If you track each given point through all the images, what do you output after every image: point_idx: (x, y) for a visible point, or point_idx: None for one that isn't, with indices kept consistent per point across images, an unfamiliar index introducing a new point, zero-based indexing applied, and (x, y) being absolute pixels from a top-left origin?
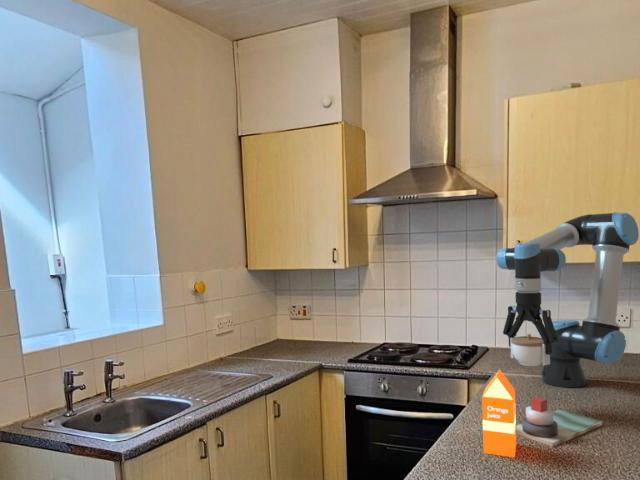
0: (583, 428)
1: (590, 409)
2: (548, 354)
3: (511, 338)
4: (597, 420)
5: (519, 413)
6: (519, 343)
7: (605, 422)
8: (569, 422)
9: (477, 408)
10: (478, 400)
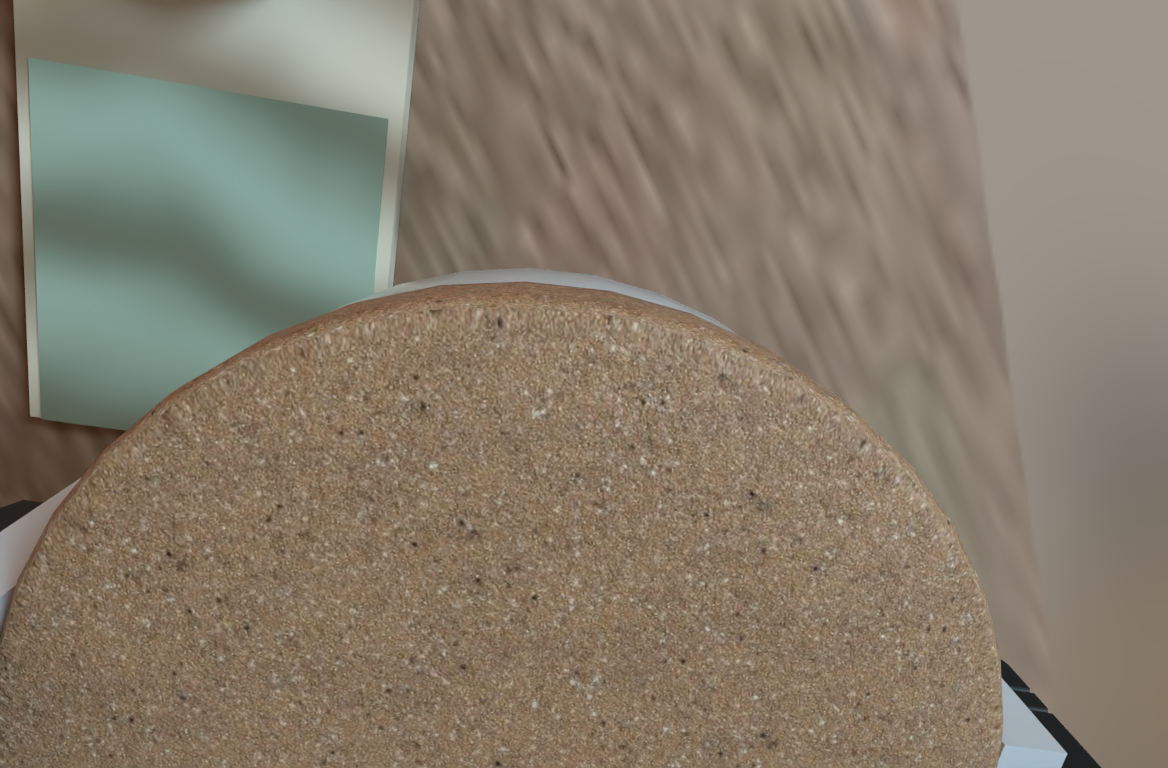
0: (35, 176)
1: None
2: (22, 501)
3: (1025, 740)
4: (58, 410)
5: (588, 228)
6: (566, 292)
7: (65, 477)
8: (166, 221)
9: (905, 96)
10: (978, 290)
